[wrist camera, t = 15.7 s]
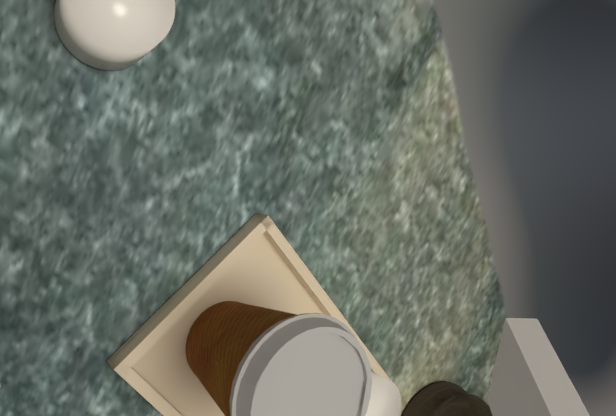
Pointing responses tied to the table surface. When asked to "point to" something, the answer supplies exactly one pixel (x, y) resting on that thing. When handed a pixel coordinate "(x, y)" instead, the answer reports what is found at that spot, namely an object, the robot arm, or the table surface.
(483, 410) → the beer stein
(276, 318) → the disposable coffee cup
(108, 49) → the rounded white cap
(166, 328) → the serving tray
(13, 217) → the table surface
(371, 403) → the white rounded cylinder
